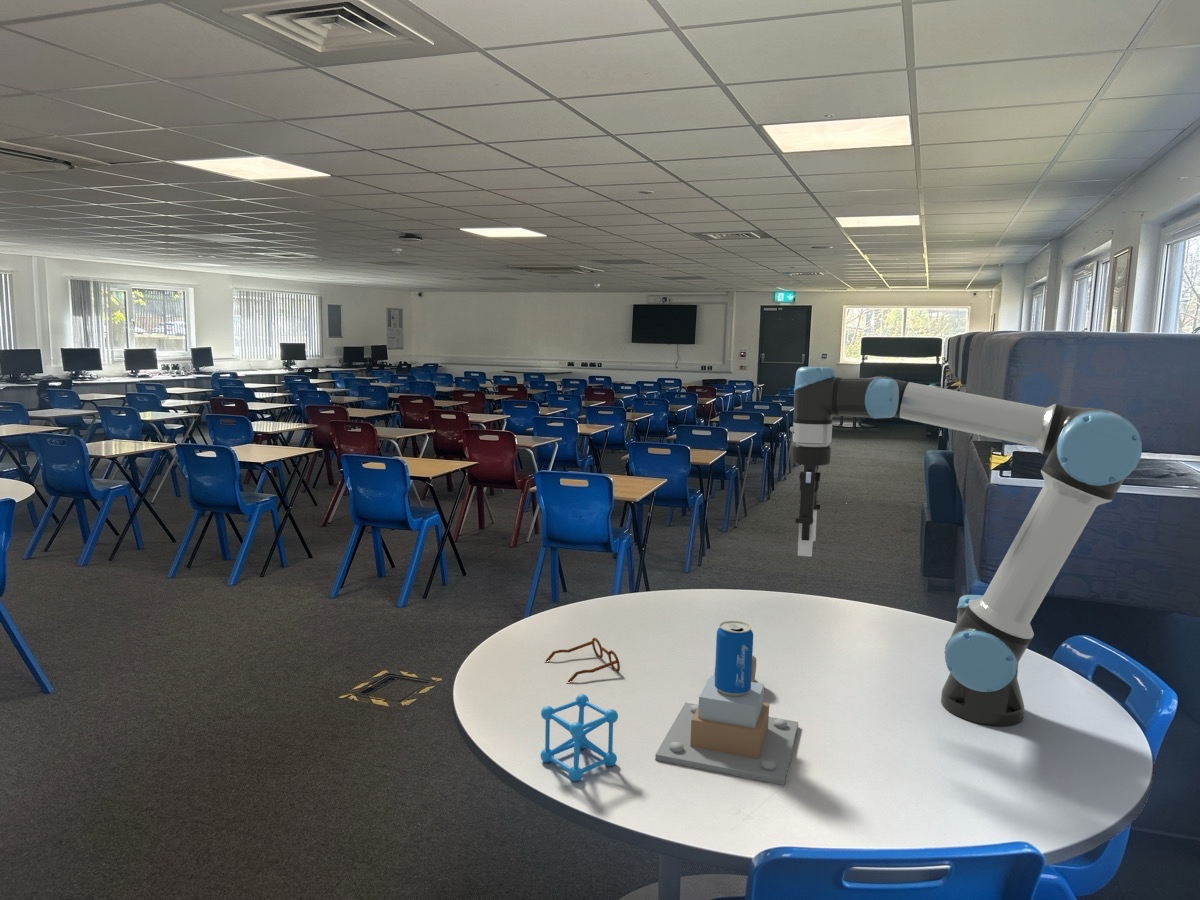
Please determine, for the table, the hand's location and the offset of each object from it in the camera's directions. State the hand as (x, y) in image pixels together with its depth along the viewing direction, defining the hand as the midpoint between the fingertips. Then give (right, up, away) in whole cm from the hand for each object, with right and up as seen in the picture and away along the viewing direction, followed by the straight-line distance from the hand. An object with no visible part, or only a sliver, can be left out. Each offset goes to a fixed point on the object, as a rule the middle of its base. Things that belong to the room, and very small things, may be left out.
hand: (806, 547), depth 163 cm
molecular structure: (-46, -34, -25) cm, 62 cm away
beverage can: (-18, -24, -18) cm, 35 cm away
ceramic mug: (-13, -30, +9) cm, 34 cm away
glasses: (-46, -29, +15) cm, 57 cm away
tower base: (-18, -33, -17) cm, 42 cm away
